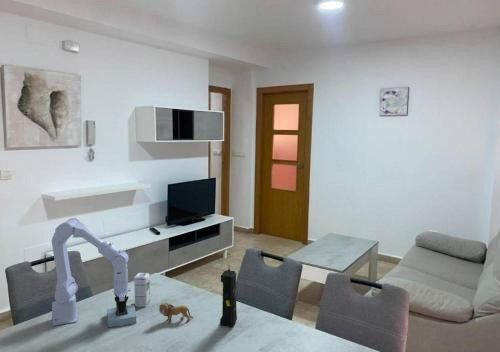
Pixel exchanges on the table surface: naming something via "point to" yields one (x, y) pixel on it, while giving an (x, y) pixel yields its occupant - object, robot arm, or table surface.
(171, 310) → the lion figurine
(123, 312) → the plug
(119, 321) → the socket plate
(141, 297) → the syrup box
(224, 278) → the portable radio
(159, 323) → the table surface
